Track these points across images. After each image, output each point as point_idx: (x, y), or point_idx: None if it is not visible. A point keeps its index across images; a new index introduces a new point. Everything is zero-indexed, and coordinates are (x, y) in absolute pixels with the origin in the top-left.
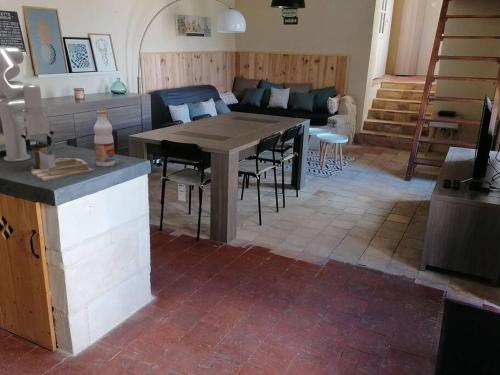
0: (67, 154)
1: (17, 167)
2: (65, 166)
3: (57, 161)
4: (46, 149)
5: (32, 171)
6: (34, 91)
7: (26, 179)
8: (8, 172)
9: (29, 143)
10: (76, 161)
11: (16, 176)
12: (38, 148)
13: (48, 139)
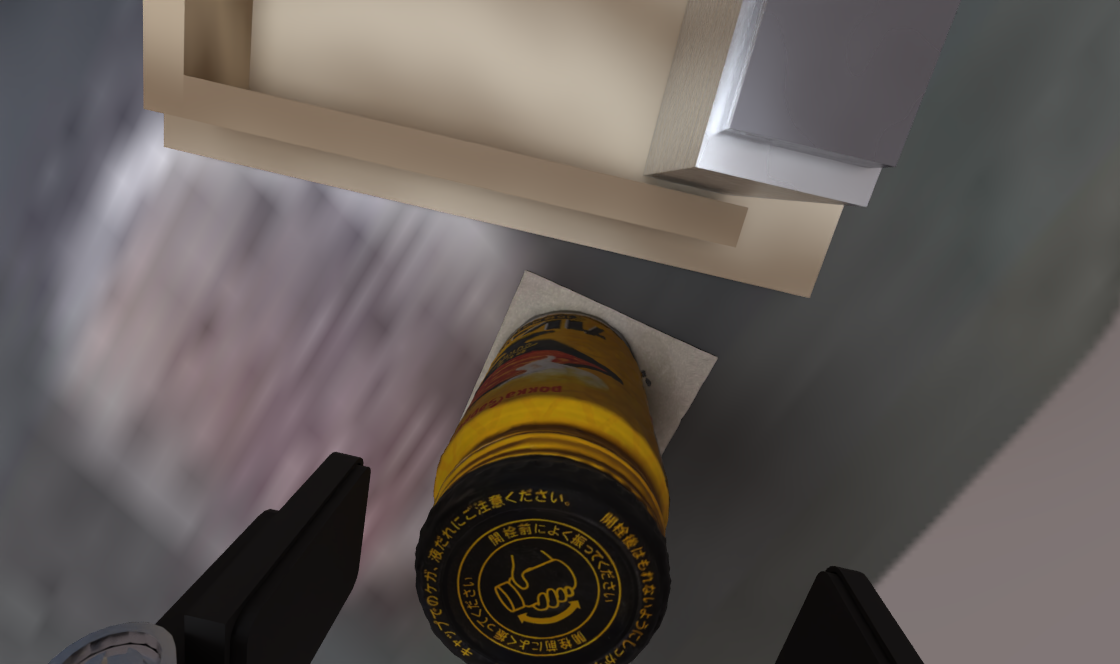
0: (96, 628)
1: (723, 586)
2: (396, 122)
3: (468, 161)
4: (761, 25)
5: (822, 243)
6: None
7: (1035, 67)
8: (909, 497)
9: (902, 661)
10: (208, 32)
11: (988, 292)
12: (641, 496)
13: (290, 595)
